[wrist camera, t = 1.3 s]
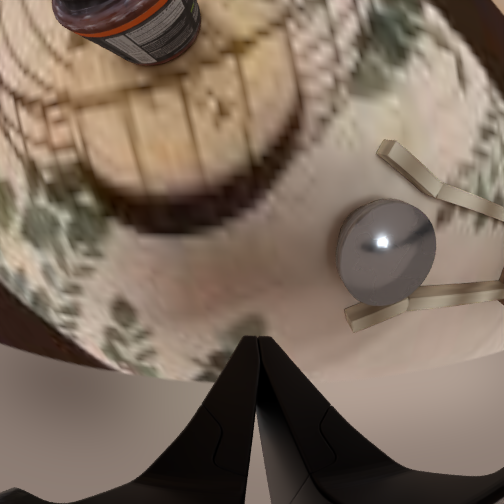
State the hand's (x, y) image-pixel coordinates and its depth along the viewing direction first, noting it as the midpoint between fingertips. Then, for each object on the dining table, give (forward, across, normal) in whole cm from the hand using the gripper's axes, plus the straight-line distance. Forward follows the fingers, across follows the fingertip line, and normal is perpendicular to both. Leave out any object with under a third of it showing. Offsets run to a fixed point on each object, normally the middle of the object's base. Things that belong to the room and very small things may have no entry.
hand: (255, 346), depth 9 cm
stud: (+12, -9, 0) cm, 15 cm away
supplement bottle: (+12, +7, -14) cm, 19 cm away
